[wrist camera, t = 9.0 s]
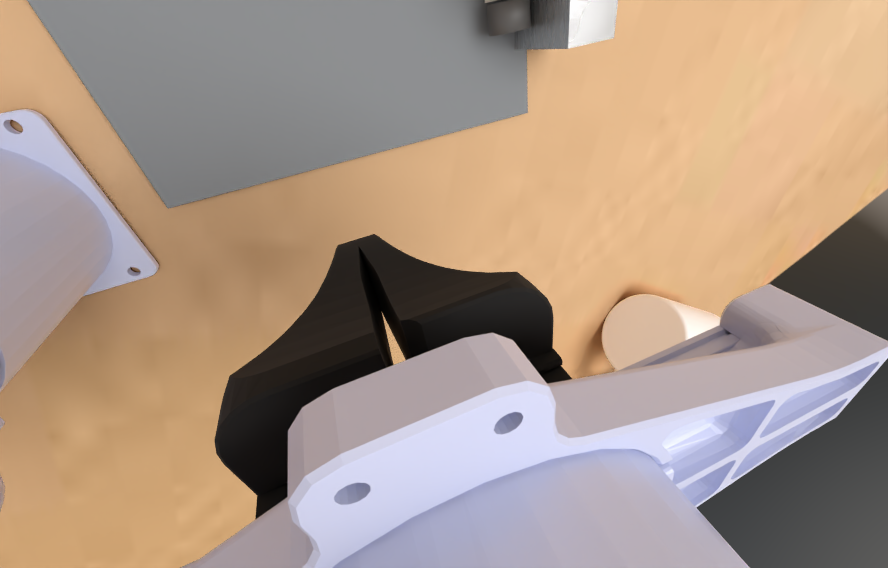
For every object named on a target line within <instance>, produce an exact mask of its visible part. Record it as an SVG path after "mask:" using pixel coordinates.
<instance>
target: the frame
mask: <svg viewBox="0 0 888 568" xmlns="http://www.w3.org/2000/svg"><path fill="white" fill-rule="evenodd" d="M617 4H618V0H530V20H531V27H530V28H528V29H524V30H520V31H516V32H515V50H520V49H569V48H573V47H577V46H582V45H586V44H590V43H595V42H599V41H603V40H608V39H612V38H614V33H615V23H616V14H617Z"/></svg>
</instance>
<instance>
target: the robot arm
mask: <svg viewBox="0 0 888 568" xmlns="http://www.w3.org/2000/svg"><path fill="white" fill-rule="evenodd" d="M10 120H14V121H16V122H18V123H19V124H20V125H21V126H22V128H23V132H19V131H16V130H15V129H14V128H12V127H11V125H10ZM130 267H135V268H138V269H139V270H140V272H133V271H132V270H131V269H130ZM158 269H159V265H158V263H157V261H156V260H155V259H154V258H153V256H152V255H151V254H150V252H149V251H148V250H147V248H146V247H145V246H144V245H143V243H142V242H141V241H140V239H139V238H138V237H137V235H136V234H135V233H134V232H133V230H132V229H131V228H130V226H129V225H128V224H127V223H126V221H125V220H124V219H123V217H122V216H121V215H120V213H119V212H118V211H117V210H116V208H115V207H114V206H113V204H112V203H111V202H110V200H109V199H108V198H107V197H106V195H105V194H104V193H103V191H102V190H101V189H100V187H99V186H98V185H97V184H96V182H95V181H94V180H93V178H92V177H91V176H90V174H89V173H88V172H87V171H86V169H85V168H84V167H83V165H82V164H81V163H80V162H79V160H78V159H77V158H76V156H75V155H74V154H73V152H72V151H71V150H70V149H69V147H68V146H67V145H66V143H65V142H64V141H63V139H62V138H61V137H60V136H59V134H58V133H57V132H56V130H55V129H54V128H53V126H52V125H51V124H50V123H49V121H48V120H47V119H46V118H45V117H44V116H43V115H42V114H40V113H38V112H37V111H34V110H30V109H20V110H15V111H10V112H5V113H0V392H1V391H2V390H3V389H4V387H5V386H6V385H7V384H8V383H9V382H10V380H11V379H12V378H13V377H14V376H15V375H16V373H17V372H18V371H19V370H20V369H21V368H22V366H23V365H24V364H25V363H26V362H27V361H28V359H29V358H30V357H31V356H32V355H33V354H34V352H35V351H36V350H37V349H38V348H39V346H40V345H41V344H42V343H43V342H44V341H45V339H46V338H47V337H48V336H49V335H50V334H51V332H52V331H53V330H54V329H55V328H56V327H57V325H58V324H59V323H60V322H61V321H62V320H63V318H64V317H65V316H66V315H67V314H68V313H69V311H70V310H71V309H72V308H73V307H74V306H75V304H76V303H77V302H78V301H79V300H80V298H81V297H82V296H86V295H89V294H93V293H96V292H99V291H103V290H106V289H109V288H113V287H116V286H119V285H123V284H126V283H129V282H133V281H136V280H140V279H143V278H146V277H150V276H152V275H154V274H155V273H156V272H157V270H158ZM382 313H383V315H384V317H385V319H386V321H387V323H388V325H389V327H390V329H391V331H392V333H393V335H394V337H395V339H396V341H397V343H398V345H399V347H400V349H401V351H402V353H403V355H404V357H405V359H406V360H405V361H403V362H400V363H398V364H395V365H393V361H392V357H391V352H390V347H389V343H388V338H387V334H386V329H385V325H384V320H383V316H382ZM552 345H553V311H552V306H551V305H550V303H549V301H548V299H547V298H546V297H545V296H544V295H543V294H542V293H541V292H540V291H539V290H538V289H537V288H536V287H535V286H534V285H533V284H532V283H530V282H529V281H528V280H527V279H525V278H524V277H523V276H521V275H520V274H519V273H518V272H495V273H485V272H470V271H461V270H455V269H450V268H445V267H440V266H437V265H433V264H430V263H427V262H424V261H421V260H418V259H416V258H414V257H411V256H409V255H407V254H405V253H403V252H402V251H400V250H398V249H396V248H395V247H393V246H391V245H390V244H388V243H387V242H385V241H384V240H383V239H381V238H380V237H379V236H377V235H375V234H373V235H370V236H366V237H363V238H360V239H357V240H353V241H350V242H347V243H344V244H341V245H338V247H337V248H336V251H335V255H334V258H333V261H332V263H331V266H330V268H329V271H328V273H327V275H326V278H325V280H324V282H323V284H322V285H321V287H320V289H319V291H318V293H317V295H316V296H315V298H314V299H313V301H312V302H311V303H310V305H309V306H308V307H307V309H306V310H305V311H304V312H303V314H302V315H301V316H300V317H299V318H298V319H297V320H296V321H295V322H294V324H293V325H292V326H291V327H290V328H289V329H288V330H287V331H286V332H285V333H284V334H283V335H282V336H281V337H280V338H279V339H277V340H276V341H275V342H274V343H273V344H272V345H271V346H269V347H268V348H267V349H266V350H265V351H263V352H262V353H261V354H260V355H258V356H257V357H255V358H254V359H253V360H251V361H250V362H249V363H247V364H246V365H245V366H243V367H242V368H240V369H239V370H238V371H236V372H235V373H233V374H232V375H230V376H229V380H228V383H227V386H226V390H225V393H224V396H223V401H222V405H221V410H220V415H219V420H218V426H217V431H216V436H215V447H216V453H217V455H218V456H219V458H220V459H221V461H222V462H223V463H224V465H225V466H226V467H227V468H229V469H230V470H231V471H232V472H233V473H234V474H235V475H236V476H237V477H238V478H239V479H240V480H241V481H242V482H244V483H245V484H246V485H247V486H248V487H249V488H250V489H251V490H252V491H253V492H254V493H255V494H256V495H257V508H256V520H254V521H253V522H251V523H250V524H249V525H247V526H246V527H244V528H243V529H241V530H240V531H239V532H237V533H236V534H234V535H233V536H231V537H230V538H229V539H227V540H226V541H224V542H223V543H221V544H220V545H219V546H217V547H216V548H214V549H213V550H211V551H210V552H209V553H207V554H206V555H204V556H203V557H202V558H200V559H198V560H196V561H194V562H192V563H189V564H187V565H185V566H183V567H180V568H749V567H748V565H747V564H746V563H745V562H744V561H743V560H742V559H741V558H740V556H739V555H738V554H737V553H736V552H735V551H734V550H733V549H732V547H731V546H730V545H729V544H728V543H727V542H726V541H725V540H724V539H723V538H722V536H721V535H720V534H719V533H718V532H717V531H716V530H715V529H714V527H713V526H712V525H711V524H710V523H709V522H708V521H707V520H706V518H705V517H704V516H703V515H702V514H701V513H700V512H699V511H698V509H697V508H696V507H697V506H699V505H700V504H701V503H703V502H705V501H706V500H708V499H709V498H711V497H712V496H713V495H715V494H716V493H718V492H719V491H721V490H722V489H724V488H725V487H727V486H728V485H730V484H731V483H733V482H734V481H736V480H737V479H738V478H740V477H741V476H743V475H744V474H746V473H747V472H749V471H750V470H752V469H753V468H755V467H756V466H758V465H759V464H761V463H762V462H764V461H765V460H767V459H768V458H770V457H771V456H773V455H774V454H776V453H778V452H779V451H780V450H782V449H784V448H785V447H787V446H789V445H790V444H792V443H793V442H795V441H797V440H798V439H800V438H801V437H803V436H805V435H806V434H808V433H809V432H811V431H813V430H815V429H817V428H818V427H820V426H822V425H823V424H825V423H827V422H828V421H830V420H832V419H834V418H835V417H836V416H837V415H838V414H839V413H840V412H841V411H842V410H843V409H844V407H845V406H846V405H847V404H848V403H849V402H850V401H851V399H852V398H853V397H854V396H855V395H856V394H857V393H858V391H859V390H860V389H861V388H862V387H863V386H864V385H865V383H866V382H867V381H868V380H869V379H870V378H871V376H872V375H873V374H874V373H875V372H876V371H877V370H878V368H879V367H880V366H881V365H882V364H883V363H884V361H885V360H886V359H887V358H888V341H886V340H884V339H882V338H880V337H878V336H876V335H874V334H872V333H870V332H868V331H866V330H863V329H861V328H859V327H857V326H855V325H853V324H851V323H849V322H847V321H845V320H843V319H841V318H839V317H836V316H834V315H832V314H830V313H828V312H826V311H824V310H822V309H820V308H818V307H816V306H814V305H811V304H809V303H807V302H805V301H803V300H801V299H799V298H797V297H795V296H793V295H791V294H789V293H787V292H784V291H782V290H780V289H778V288H776V287H774V286H772V285H770V284H769V285H764V286H762V287H759V288H757V289H755V290H753V291H750V292H748V293H746V294H743V295H741V296H739V297H737V298H735V299H734V300H732V301H731V302H730V303H729V304H728V305H727V306H726V308H725V309H724V311H723V313H722V315H721V319H720V325H719V326H716V327H714V328H712V329H710V330H707V331H705V332H703V333H701V334H699V335H696V336H694V337H692V338H690V339H687V340H685V341H683V342H681V343H679V344H676V345H674V346H672V347H670V348H667V349H665V350H663V351H661V352H659V353H656V354H654V355H652V356H650V357H647V358H645V359H643V360H641V361H639V362H636V363H634V364H632V365H630V366H627V367H625V368H623V369H621V370H619V371H616V372H611V373H605V374H599V375H594V376H588V377H582V378H577V379H572V378H571V377H570V376H569V375H568V374H567V372H566V371H565V370H564V369H563V368H562V367H561V365H562V359H561V357H560V356H559V355H558V354H557V352H556V351H555V350H554V349H553V348H552ZM4 424H5V422H4V420H3V419H2V418H1V417H0V429H1V428H2V427H3V425H4ZM4 492H5V485H4V482H3V480H2V477H1V474H0V511H1V508H2V504H3V501H4Z"/></svg>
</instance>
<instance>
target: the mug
mask: <svg viewBox="0 0 888 568" xmlns="http://www.w3.org/2000/svg"><path fill="white" fill-rule="evenodd" d="M720 319H721V318H720V317H719V316H717V315H715V314H713V313H710V312H707V311H704V310H701V309H698V308H695V307H692V306H688V305H685V304H682V303H679V302H676V301H673V300H669V299H666V298H663V297H660V296H657V295H652V294H638V295H633V296H630V297H628V298H626V299H624V300H622V301H620V302H619V303H618V304H617V305H615V306H614V307H613V308H612V310H611V311H610V312H609V314H608V315H607V317H606V319H605V322H604V325H603V329H602V345H603V349H604V352H605V355H606V357H607V359H608V360H609V362H610V363H611V365H612V366H613V367H614V368H615V371H614V372H616V371H619V370H621V369H623V368H625V367H627V366H630V365H632V364H634V363H636V362H639V361H641V360H643V359H645V358H647V357H650V356H652V355H654V354H656V353H659V352H661V351H663V350H665V349H667V348H670V347H672V346H674V345H676V344H679V343H681V342H683V341H685V340H687V339H690V338H692V337H694V336H696V335H699V334H701V333H703V332H705V331H707V330H710V329H712V328H714V327H716V326H719V325H720Z"/></svg>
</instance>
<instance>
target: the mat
mask: <svg viewBox="0 0 888 568" xmlns="http://www.w3.org/2000/svg"><path fill="white" fill-rule="evenodd" d="M27 1H28V2H29V4H30V5H31V7H32V8H33V10H34V11H35V13H36V14H37V16H38V17H39V19H40V20H41V21H42V23H43V24H44V26H45V27H46V29H47V30H48V32H49V33H50V35H51V36H52V38H53V39H54V41H55V42H56V44H57V45H58V47H59V48H60V50H61V51H62V53H63V54H64V56H65V57H66V58H67V60H68V61H69V63H70V64H71V66H72V67H73V69H74V70H75V72H76V73H77V75H78V76H79V78H80V79H81V81H82V82H83V84H84V85H85V87H86V88H87V90H88V91H89V93H90V94H91V95H92V97H93V98H94V100H95V101H96V103H97V104H98V106H99V107H100V109H101V110H102V112H103V113H104V115H105V116H106V118H107V119H108V121H109V122H110V124H111V125H112V127H113V128H114V130H115V131H116V133H117V134H118V135H119V137H120V138H121V140H122V141H123V143H124V144H125V146H126V147H127V149H128V150H129V152H130V153H131V155H132V156H133V158H134V159H135V161H136V162H137V164H138V165H139V167H140V168H141V170H142V171H143V172H144V174H145V175H146V177H147V178H148V180H149V181H150V183H151V184H152V186H153V187H154V189H155V190H156V192H157V193H158V195H159V196H160V198H161V199H162V201H163V202H164V204H165V205H166V207H167V208H172V207H175V206H179V205H183V204H187V203H190V202H194V201H198V200H202V199H205V198H209V197H213V196H217V195H220V194H224V193H228V192H232V191H235V190H239V189H243V188H247V187H251V186H254V185H258V184H262V183H266V182H269V181H273V180H277V179H281V178H284V177H288V176H292V175H296V174H299V173H303V172H307V171H311V170H314V169H318V168H322V167H326V166H329V165H333V164H337V163H341V162H344V161H348V160H352V159H356V158H359V157H363V156H367V155H371V154H374V153H378V152H382V151H386V150H389V149H393V148H397V147H401V146H404V145H408V144H412V143H416V142H419V141H423V140H427V139H431V138H434V137H438V136H442V135H446V134H449V133H453V132H457V131H461V130H464V129H468V128H472V127H476V126H479V125H483V124H487V123H491V122H494V121H498V120H502V119H506V118H510V117H513V116H517V115H521V114H525V113H528V102H527V49H520V50H515V32H512V33H507V34H502V35H496V36H489V28H488V16H487V5H491V4H495V3H499V2H503V1H508V0H497V1H493V2H489V3H485V0H27Z"/></svg>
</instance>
